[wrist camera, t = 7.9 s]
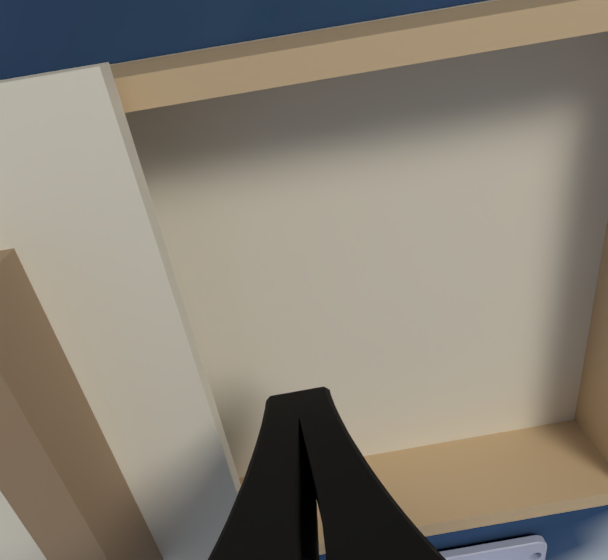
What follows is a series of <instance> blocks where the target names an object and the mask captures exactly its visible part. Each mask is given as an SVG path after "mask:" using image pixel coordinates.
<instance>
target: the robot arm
mask: <svg viewBox="0 0 608 560" xmlns="http://www.w3.org/2000/svg"><path fill="white" fill-rule="evenodd" d="M317 503H318V507H319V511H320V516H321V520H322V527H323V535H324V543H325V552H326V560H545V557H546V550H547V544H546V542H545V540H544V538H543V537H542V536H539V535H531V536H525V537H520V538H514V539H508V540H502V541H497V542H491V543H485V544H479V545H474V546H468V547H462V548H457V549H451V550H445V551H439V552H438V551H437V549H436V548H435V547H434V546H433V545H432V544H431V543H430V542H429V541H428V539H427V538H426V537H425V536H424V535H423V534H422V533H421V532H420V530H419V529H418V528H417V527H416V526H415V525H414V523H413V522H412V521H411V520H410V519H409V517H408V516H407V515H406V514H405V513H404V511H403V510H402V509H401V508H400V506H399V505H398V504H397V503H396V501H395V500H394V499H393V497H392V496H391V495H390V494H389V492H388V491H387V490H386V488H385V487H384V485H383V484H382V483H381V481H380V480H379V479H378V477H377V476H376V474H375V473H374V472H373V470H372V469H371V467H370V466H369V464H368V463H367V461H366V460H365V458H364V457H363V455H362V453H361V452H360V450H359V449H358V447H357V445H356V444H355V442H354V441H353V439H352V437H351V436H350V434H349V432H348V430H347V429H346V427H345V425H344V423H343V421H342V419H341V417H340V415H339V413H338V411H337V409H336V406H335V404H334V402H333V399H332V396H331V393H330V390H329V389H328V388H326V387H318V388H312V389H307V390H301V391H295V392H290V393H284V394H278V395H273V396H270V397H269V398H268V399H267V400H266V404H265V410H264V415H263V420H262V424H261V427H260V431H259V435H258V438H257V442H256V445H255V448H254V451H253V454H252V457H251V460H250V463H249V466H248V469H247V472H246V474H245V477H244V480H243V483H242V485H241V487H240V490H239V492H238V495H237V497H236V500H235V502H234V504H233V507H232V509H231V512H230V514H229V517H228V519H227V521H226V523H225V525H224V528H223V530H222V532H221V534H220V536H219V538H218V540H217V542H216V544H215V546H214V548H213V550H212V552H211V554H210V556H209V558H208V560H319V540H318V517H317Z"/></svg>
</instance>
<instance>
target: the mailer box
mask: <svg viewBox="0 0 608 560" xmlns="http://www.w3.org/2000/svg"><path fill="white" fill-rule="evenodd" d="M110 68H111V71H112V74H113V78H114V81H115V84H116V87H117V90H118V94H119V97H120V100H121V103H122V106H123V110H124V113H125V116H126V119H127V122H128V126H129V129H130V132H131V135H132V138H133V142H134V145H135V148H136V151H137V154H138V158H139V161H140V164H141V167H142V170H143V173H144V177H145V180H146V183H147V186H148V189H149V193H150V196H151V199H152V202H153V205H154V209H155V212H156V215H157V218H158V221H159V225H160V228H161V231H162V234H163V237H164V241H165V244H166V247H167V250H168V253H169V257H170V260H171V263H172V266H173V269H174V273H175V276H176V279H177V282H178V285H179V289H180V292H181V295H182V298H183V301H184V305H185V308H186V311H187V314H188V317H189V321H190V324H191V327H192V330H193V333H194V337H195V340H196V343H197V346H198V349H199V353H200V356H201V359H202V362H203V365H204V369H205V372H206V375H207V378H208V381H209V385H210V388H211V391H212V394H213V397H214V400H215V404H216V407H217V410H218V413H219V416H220V420H221V423H222V426H223V429H224V432H225V436H226V439H227V442H228V445H229V448H230V452H231V455H232V458H233V461H234V464H235V468H236V471H237V474H238V477H239V480H240V484H241V485H242V483H243V480H244V477H245V474H246V472H247V469H248V466H249V463H250V460H251V457H252V454H253V451H254V448H255V445H256V442H257V438H258V435H259V431H260V427H261V424H262V420H263V415H264V410H265V404H266V400H267V399H268V398H269V397H270V396H273V395H278V394H284V393H290V392H295V391H301V390H307V389H312V388H318V387H326V388H328V389H329V390H330V393H331V396H332V399H333V402H334V404H335V406H336V409H337V411H338V413H339V415H340V417H341V419H342V421H343V423H344V425H345V427H346V429H347V430H348V432H349V434H350V436H351V437H352V439H353V441H354V442H355V444H356V445H357V447H358V449H359V450H360V452H361V453H362V455H363V457H364V458H365V460H366V461H367V463H368V464H369V466H370V467H371V469H372V470H373V472H374V473H375V474H376V476H377V477H378V479H379V480H380V481H381V483H382V484H383V485H384V487H385V488H386V490H387V491H388V492H389V494H390V495H391V496H392V497H393V499H394V500H395V501H396V503H397V504H398V505H399V506H400V508H401V509H402V510H403V511H404V513H405V514H406V515H407V516H408V517H409V519H410V520H411V521H412V522H413V523H414V525H415V526H416V527H417V528H418V529H419V530H420V532H421V533H422V534H423V535H424V536H431V535H437V534H442V533H448V532H454V531H460V530H465V529H471V528H477V527H482V526H488V525H494V524H500V523H505V522H511V521H517V520H523V519H528V518H534V517H540V516H545V515H551V514H557V513H563V512H568V511H574V510H580V509H586V508H591V507H597V506H603V505H608V0H489V1H483V2H477V3H471V4H466V5H460V6H454V7H448V8H442V9H436V10H430V11H424V12H418V13H412V14H406V15H400V16H394V17H388V18H383V19H377V20H371V21H365V22H359V23H353V24H347V25H341V26H335V27H329V28H323V29H317V30H311V31H306V32H300V33H294V34H288V35H282V36H276V37H270V38H264V39H258V40H252V41H246V42H240V43H234V44H228V45H223V46H217V47H211V48H205V49H199V50H193V51H187V52H181V53H175V54H169V55H163V56H157V57H151V58H145V59H140V60H134V61H128V62H122V63H116V64H110ZM317 517H318V540H319V555H322V554H326V552H325V543H324V535H323V527H322V520H321V516H320V511H319V507H318V503H317Z"/></svg>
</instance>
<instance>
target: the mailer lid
mask: <svg viewBox="0 0 608 560" xmlns="http://www.w3.org/2000/svg"><path fill="white" fill-rule="evenodd" d="M240 487H241V484H240V480H239V477H238V474H237V471H236V468H235V464H234V461H233V458H232V455H231V452H230V448H229V445H228V442H227V439H226V436H225V432H224V429H223V426H222V423H221V420H220V416H219V413H218V410H217V407H216V404H215V400H214V397H213V394H212V391H211V388H210V385H209V381H208V378H207V375H206V372H205V369H204V365H203V362H202V359H201V356H200V353H199V349H198V346H197V343H196V340H195V337H194V333H193V330H192V327H191V324H190V321H189V317H188V314H187V311H186V308H185V305H184V301H183V298H182V295H181V292H180V289H179V285H178V282H177V279H176V276H175V273H174V269H173V266H172V263H171V260H170V257H169V253H168V250H167V247H166V244H165V241H164V237H163V234H162V231H161V228H160V225H159V221H158V218H157V215H156V212H155V209H154V205H153V202H152V199H151V196H150V193H149V189H148V186H147V183H146V180H145V177H144V173H143V170H142V167H141V164H140V161H139V158H138V154H137V151H136V148H135V145H134V142H133V138H132V135H131V132H130V129H129V126H128V122H127V119H126V116H125V113H124V110H123V106H122V103H121V100H120V97H119V94H118V90H117V87H116V84H115V81H114V78H113V74H112V71H111V68H110V65H109V62H106V63H100V64H94V65H88V66H82V67H76V68H71V69H65V70H59V71H53V72H47V73H41V74H35V75H29V76H23V77H17V78H11V79H5V80H0V560H208V558H209V556H210V554H211V552H212V550H213V548H214V546H215V544H216V542H217V540H218V538H219V536H220V534H221V532H222V530H223V528H224V525H225V523H226V521H227V519H228V517H229V514H230V512H231V509H232V507H233V504H234V502H235V500H236V497H237V495H238V492H239V490H240Z"/></svg>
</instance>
